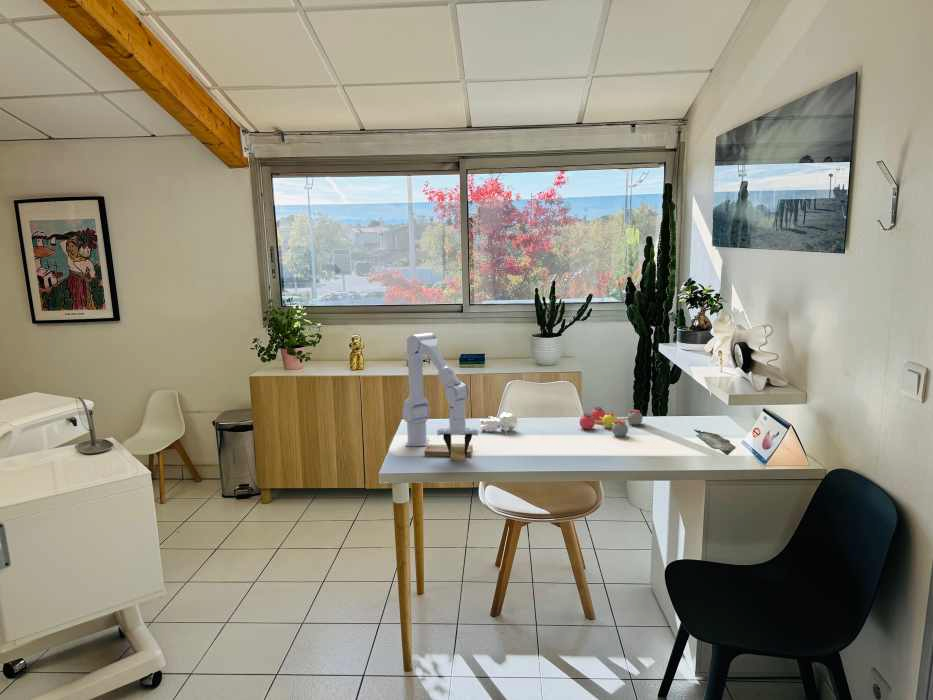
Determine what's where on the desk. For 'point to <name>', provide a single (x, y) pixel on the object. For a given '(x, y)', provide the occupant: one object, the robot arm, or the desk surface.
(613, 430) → the molecule model
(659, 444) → the desk surface
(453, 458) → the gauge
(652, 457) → the desk surface
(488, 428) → the figurine
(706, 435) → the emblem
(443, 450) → the board
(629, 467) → the desk surface
